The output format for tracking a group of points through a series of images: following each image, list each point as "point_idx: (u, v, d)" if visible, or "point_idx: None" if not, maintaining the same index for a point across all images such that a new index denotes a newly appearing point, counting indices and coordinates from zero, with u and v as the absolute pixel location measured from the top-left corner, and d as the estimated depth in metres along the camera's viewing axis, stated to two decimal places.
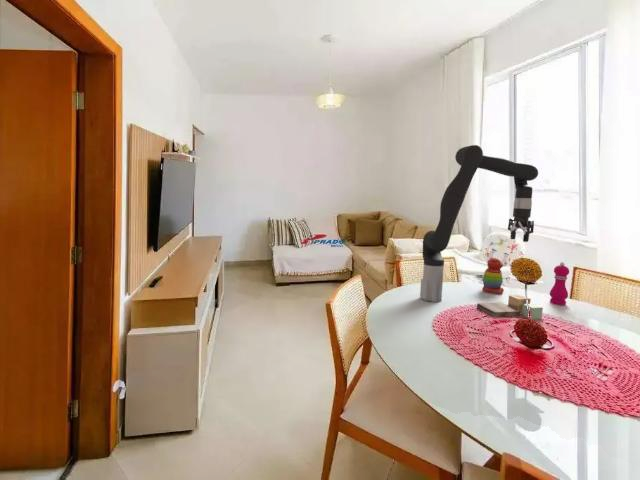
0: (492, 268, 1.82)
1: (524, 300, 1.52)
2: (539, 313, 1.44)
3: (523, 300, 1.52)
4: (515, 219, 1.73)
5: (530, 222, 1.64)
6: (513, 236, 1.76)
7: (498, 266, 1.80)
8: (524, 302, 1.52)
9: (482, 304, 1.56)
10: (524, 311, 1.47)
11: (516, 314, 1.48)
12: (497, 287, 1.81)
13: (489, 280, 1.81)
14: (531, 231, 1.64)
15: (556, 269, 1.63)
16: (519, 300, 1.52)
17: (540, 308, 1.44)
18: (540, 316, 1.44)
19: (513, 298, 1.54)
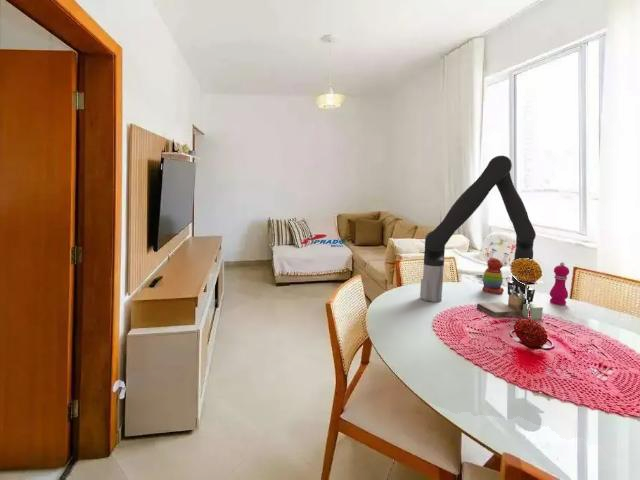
0: (492, 268, 1.82)
1: None
2: (539, 313, 1.44)
3: None
4: (514, 282, 1.56)
5: (530, 291, 1.47)
6: None
7: (498, 266, 1.80)
8: None
9: (482, 304, 1.56)
10: (524, 311, 1.47)
11: (516, 314, 1.48)
12: (497, 287, 1.81)
13: (489, 280, 1.81)
14: (530, 300, 1.49)
15: (556, 269, 1.63)
16: (519, 300, 1.52)
17: (540, 308, 1.44)
18: (540, 316, 1.44)
19: (513, 298, 1.54)
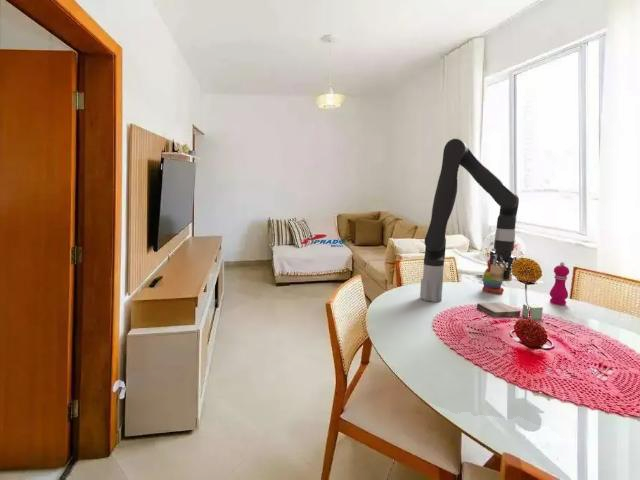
0: None
1: None
2: (539, 313, 1.44)
3: None
4: (496, 251, 1.52)
5: (512, 259, 1.43)
6: None
7: None
8: None
9: (482, 304, 1.56)
10: (524, 311, 1.47)
11: (516, 314, 1.48)
12: (497, 287, 1.81)
13: (489, 280, 1.81)
14: None
15: (556, 269, 1.63)
16: (501, 268, 1.47)
17: (540, 308, 1.44)
18: (540, 316, 1.44)
19: (495, 267, 1.50)
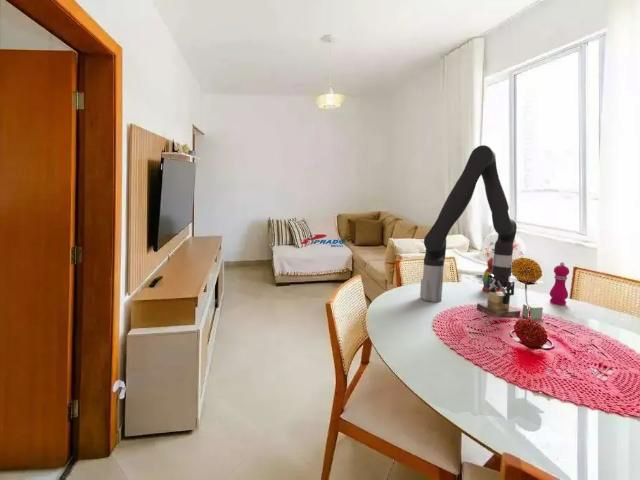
0: None
1: None
2: (539, 313, 1.44)
3: (502, 297, 1.49)
4: (494, 276, 1.53)
5: (510, 283, 1.44)
6: None
7: None
8: None
9: (482, 304, 1.56)
10: (524, 311, 1.47)
11: (516, 314, 1.48)
12: (497, 287, 1.81)
13: None
14: (511, 293, 1.45)
15: (556, 269, 1.63)
16: (498, 297, 1.48)
17: (540, 308, 1.44)
18: (540, 316, 1.44)
19: (492, 295, 1.51)
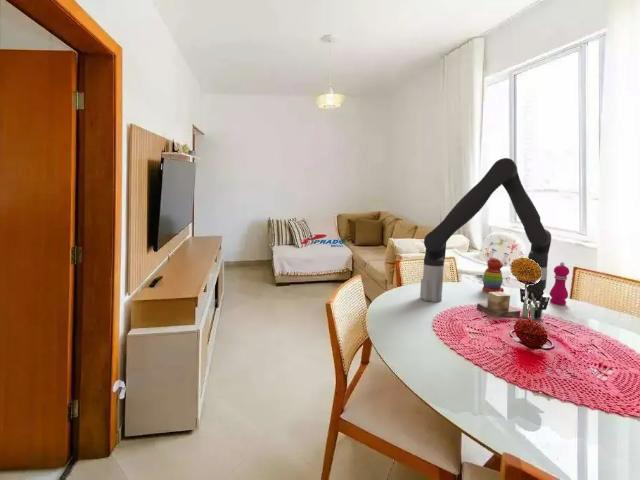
0: (492, 268, 1.82)
1: (503, 297, 1.49)
2: None
3: (502, 297, 1.49)
4: (527, 288, 1.47)
5: (545, 299, 1.39)
6: None
7: (498, 266, 1.80)
8: (503, 299, 1.49)
9: (482, 304, 1.56)
10: (524, 311, 1.47)
11: (516, 314, 1.48)
12: (497, 287, 1.81)
13: (489, 280, 1.81)
14: (544, 308, 1.41)
15: (556, 269, 1.63)
16: (498, 297, 1.48)
17: None
18: None
19: (492, 295, 1.51)
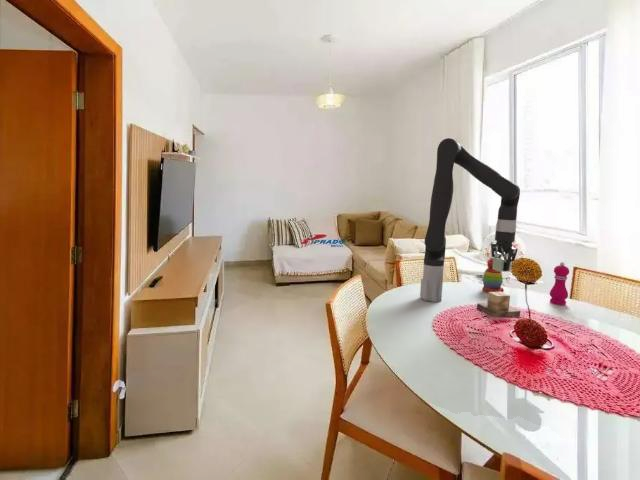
0: None
1: (503, 297, 1.49)
2: None
3: (502, 297, 1.49)
4: (497, 242, 1.51)
5: (513, 251, 1.42)
6: None
7: None
8: (503, 299, 1.49)
9: (482, 304, 1.56)
10: (494, 264, 1.51)
11: (516, 314, 1.48)
12: (497, 287, 1.81)
13: (489, 280, 1.81)
14: (512, 259, 1.44)
15: (556, 269, 1.63)
16: (498, 297, 1.48)
17: None
18: (509, 269, 1.48)
19: (492, 295, 1.51)
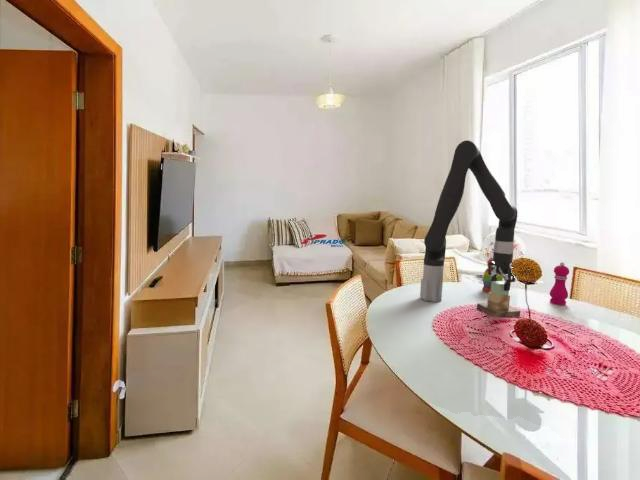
0: None
1: (503, 297, 1.49)
2: None
3: (502, 297, 1.49)
4: (495, 263, 1.52)
5: None
6: None
7: None
8: (503, 299, 1.49)
9: (482, 304, 1.56)
10: (492, 288, 1.52)
11: (516, 314, 1.48)
12: None
13: (489, 280, 1.81)
14: (512, 280, 1.44)
15: (556, 269, 1.63)
16: (498, 297, 1.48)
17: None
18: (507, 292, 1.49)
19: (492, 295, 1.51)
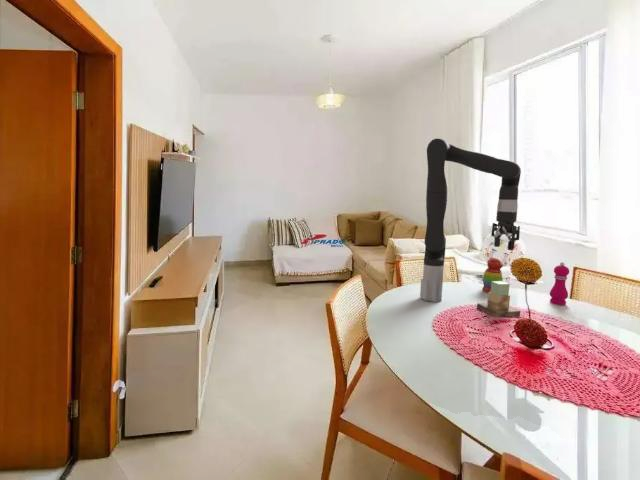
0: (492, 268, 1.82)
1: (503, 297, 1.49)
2: (505, 290, 1.49)
3: (502, 297, 1.49)
4: (499, 224, 1.50)
5: (515, 227, 1.41)
6: (497, 243, 1.53)
7: (498, 266, 1.80)
8: (503, 299, 1.49)
9: (482, 304, 1.56)
10: (492, 288, 1.52)
11: (516, 314, 1.48)
12: None
13: (489, 280, 1.81)
14: (517, 238, 1.41)
15: (556, 269, 1.63)
16: (498, 297, 1.48)
17: (507, 284, 1.49)
18: (507, 292, 1.49)
19: (492, 295, 1.51)
